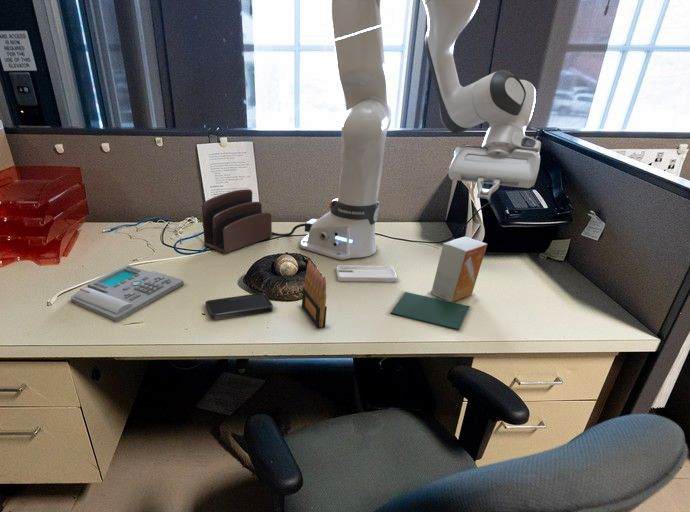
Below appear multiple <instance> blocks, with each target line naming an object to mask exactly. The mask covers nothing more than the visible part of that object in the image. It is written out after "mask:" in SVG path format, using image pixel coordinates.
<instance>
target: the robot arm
mask: <svg viewBox="0 0 690 512" xmlns="http://www.w3.org/2000/svg"><path fill="white" fill-rule="evenodd" d="M422 2H423V6H424V8H425V11H426V15H427V31H426V33H425V36H424V46H425V51H426V56H427V60H428V64H429V68H430V72H431V76H432V77H431V78H432V80H433V84H434V88H435V92H436V96H437V100H438V105H439V106H438V107H439V108H438V109H439V118H440V121H441V124H442V126H443V127H444V129H446V130H448V131H449V132H451V133H452V134H455V135H456V134H458V135H459V134H462V133H464V132H466V131H468V130H471V129H472V128H474V127H475V126H478V125H480V124H483V123H485V122H487V123H488V124H489V127H488V129H487V131H486V132H485V133H486V134H485V136H484V139H483V141H482V144H468V143H463V145H459V146H457V147H456V148H455V150H454V153H453V155H452V156H453V157H452V158H453V159H452V161H451V163H450V165H449V168H448V174H447V175H448V177H449V179H450V180H452V181H461V182H470V183H476V188H477V194H476V195H477V196H476V198H477V199H486V200H490V199H491V196H492V194H493V193H495V192H496V191H497V190H498V189H499V188H500V186H504V187H505V186H506V187H513V188H514V187H515V188H523V189H531V188H532V187H534V186H535V184H536V181H537V179H538V174H539V170H540V165H541V155H540V152H541V147H542V142H541V141H540V140H538V139H536V138H532V137H530V136H528V135H526V133H525V131H526V129H527V127H528V126H529V124H530V122H531V119H532V116H533V112H534V110H535V109H534V108H535V104H536V96H537V94H536V93H537V91H536V87H535V86H534V85H533V83H532V82H530V81H528V80H526V79H519V78H518V77H517V76H516V75H515V74H513V73H512V72H510V71H508V70H505V69H499V70H497V71H493V72H492V73H489V74H488V75H486V76H484V77H481V78H480V79H478V80H476V81H474V82H473V83H470V84H468V85H466V86H463V85H461V83H460V80H459V76H458V71H457V68H456V63H455V58H454V46H455V43H456V41H457V39H458V37H459V36H460V35H461V33H462V32H463V30H464V29H465V28H466V27H467V25H468V24H469V23H470V22H471V21H472V19H473V17H474V15H475V14H476V12H477V10H478V7H479V5H480V2H481V0H422ZM331 26H332V27H331V28H332V37H333V38H332V39H333V43H334V44H333V45H334V54H335V61H336V68H337V75H338V77H337V78H338V80H339V85H340V87H341V92H342V94H343V100H344V105H345V109H346V110H345V111H346V114H345V115H344V117H343V120H342V123H341V133H340V134H341V136H340V172H339V183H338V192H337V195H336V196H335V197H334V199H333V200H331V202H329V203H328V208H329V209H330V211H328V212H327V213H325V214H323V215H322V216H321V217H319V218H310V219H309V220H307V221H306V222H304V223H300V224H297V225H295V226H294V227H293V228H292V230H290V232H287V233H277V232H273V231H272V236H280V237H281V236H282V237H290V236H292V235H293V234H294V233H295V231H296V230H297V229H298V228H301V227H304V232H307V233H308V234H307V235H306V236H304V237H303V238H302V239H301V241H300V244H299V247H300V249H303V250H306V251H309V252H312V253H317V254H320V255H323V256H327V257H330V258H333V259H336V260H340V261H345V260H348V259H357V258H367V257H371V256H372V255H374V254H376V252H377V246H376V223H377V220H378V216H379V205H380V201H379V196H380V189H381V183H382V182H381V181H382V175H383V167H384V166H383V165H384V158H385V157H384V156H385V148H386V140H387V134H388V130H389V128H390V126H391V122H392V110H391V100H390V91H389V85H388V77H387V70H386V61H385V51H384V50H385V49H384V39H383V29H382V18H381V0H331ZM484 184H487V185H492V186H491V187H490V188H483V186H484Z"/></svg>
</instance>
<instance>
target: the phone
mask: <svg viewBox="0 0 690 512" xmlns="http://www.w3.org/2000/svg"><path fill="white" fill-rule="evenodd" d="M273 307H274V305H273V303H272V302H271V300H270V299H269V297H268V296H267V294H266V293H264V292H258V293H252V294H244V295H236V296H229V297H223V298H216V299H215V298H213V299H208V300H206V301H205V309H206V312H207V314H208V316H209V318H210V319H211V320H212V321H217V320H223V319H229V318H236V317H244V316H251V315H257V314H258V315H259V314H265V313H271V312H273V309H274V308H273Z"/></svg>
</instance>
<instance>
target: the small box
mask: <svg viewBox="0 0 690 512" xmlns="http://www.w3.org/2000/svg"><path fill="white" fill-rule="evenodd" d="M487 247H488V243H487V242H483V241H480V240H477V239H474V238H472V237H469V236H462V237H459V238H458V237H457V238H455V239H452V240H449V241H447V242H443V243H442V247H441V252H440V255H439V259H438V264H437V268H436V271H435V275H434V279H433V284H432V288H431V291H430V294H431V295H433V296H435V297H437V298H440V299H441V300H444V301H448V302H453V303H455V302H457V301H459V300H461V299H463V298H466V297H468V296H472V295H473V292H474V288H475V285H476V282H477V279H478V276H479V273H480V269H481V266H482V263H483V260H484V257H485V252H486V250H487Z"/></svg>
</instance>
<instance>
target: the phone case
mask: <svg viewBox="0 0 690 512" xmlns="http://www.w3.org/2000/svg"><path fill="white" fill-rule="evenodd" d="M335 271H336V276H337V281H339V282H365V283H367V282H368V283H370V282H373V283H374V282H376V283H377V282H378V283H396V282H397V281H398V275H397V273H396V271H395V268H394V266H392V265H341V264H339V265H336V268H335ZM341 271H342V272H341Z"/></svg>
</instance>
